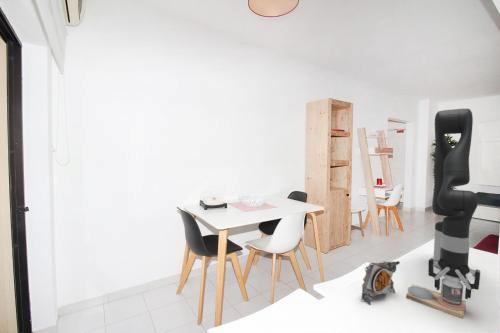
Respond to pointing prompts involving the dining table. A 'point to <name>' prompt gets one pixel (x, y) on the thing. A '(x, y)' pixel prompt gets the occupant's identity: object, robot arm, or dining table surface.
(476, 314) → the dining table surface
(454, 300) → the pill bottle
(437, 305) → the board
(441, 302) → the terracotta pad
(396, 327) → the dining table surface
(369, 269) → the meal
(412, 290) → the grey pad
